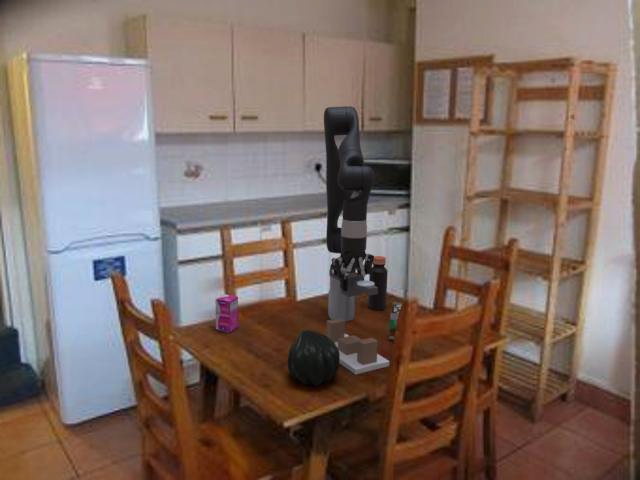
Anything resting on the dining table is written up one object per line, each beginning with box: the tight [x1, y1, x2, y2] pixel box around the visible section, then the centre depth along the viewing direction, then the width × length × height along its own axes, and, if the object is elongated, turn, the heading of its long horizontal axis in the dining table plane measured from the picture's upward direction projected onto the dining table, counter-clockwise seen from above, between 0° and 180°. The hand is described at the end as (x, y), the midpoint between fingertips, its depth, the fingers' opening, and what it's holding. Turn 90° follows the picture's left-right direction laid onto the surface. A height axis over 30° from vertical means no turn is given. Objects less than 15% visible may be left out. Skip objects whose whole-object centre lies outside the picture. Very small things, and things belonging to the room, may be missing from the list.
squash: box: [287, 329, 340, 386], centre depth 156 cm, size 14×15×15 cm
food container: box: [388, 301, 403, 342], centre depth 188 cm, size 12×6×10 cm, turn 168°
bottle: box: [367, 255, 388, 311], centre depth 214 cm, size 7×7×20 cm
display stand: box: [325, 318, 390, 375], centre depth 172 cm, size 24×12×8 cm, turn 30°
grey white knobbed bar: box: [328, 268, 378, 297], centre depth 168 cm, size 22×5×6 cm, turn 30°
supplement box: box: [214, 293, 239, 334], centre depth 191 cm, size 6×6×12 cm
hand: (352, 289), depth 169 cm, fingers closed on grey white knobbed bar, 5 cm apart
